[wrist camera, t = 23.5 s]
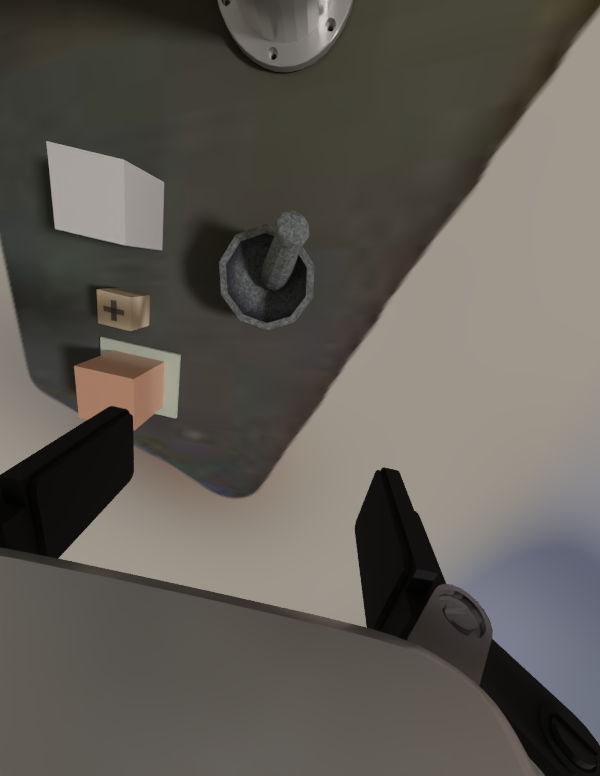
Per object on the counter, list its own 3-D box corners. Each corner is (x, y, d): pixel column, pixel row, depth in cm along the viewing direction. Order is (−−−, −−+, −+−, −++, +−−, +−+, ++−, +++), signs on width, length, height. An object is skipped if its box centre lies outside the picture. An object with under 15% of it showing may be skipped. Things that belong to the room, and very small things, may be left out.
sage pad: (102, 336, 39) (99, 337, 39) (180, 354, 40) (179, 355, 39) (105, 400, 43) (103, 402, 43) (177, 417, 43) (175, 418, 43)
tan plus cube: (119, 287, 37) (96, 289, 33) (149, 295, 37) (130, 297, 33) (119, 318, 38) (97, 323, 35) (149, 325, 38) (130, 331, 35)
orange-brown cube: (114, 350, 40) (73, 365, 33) (164, 361, 40) (133, 379, 33) (116, 395, 42) (79, 418, 36) (163, 406, 42) (134, 430, 36)
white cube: (102, 167, 32) (46, 141, 26) (164, 182, 32) (123, 159, 26) (105, 237, 35) (55, 228, 28) (162, 250, 35) (125, 245, 28)
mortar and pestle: (283, 334, 37) (266, 360, 26) (223, 287, 36) (178, 294, 25) (340, 259, 34) (348, 253, 23) (276, 203, 32) (251, 167, 21)
